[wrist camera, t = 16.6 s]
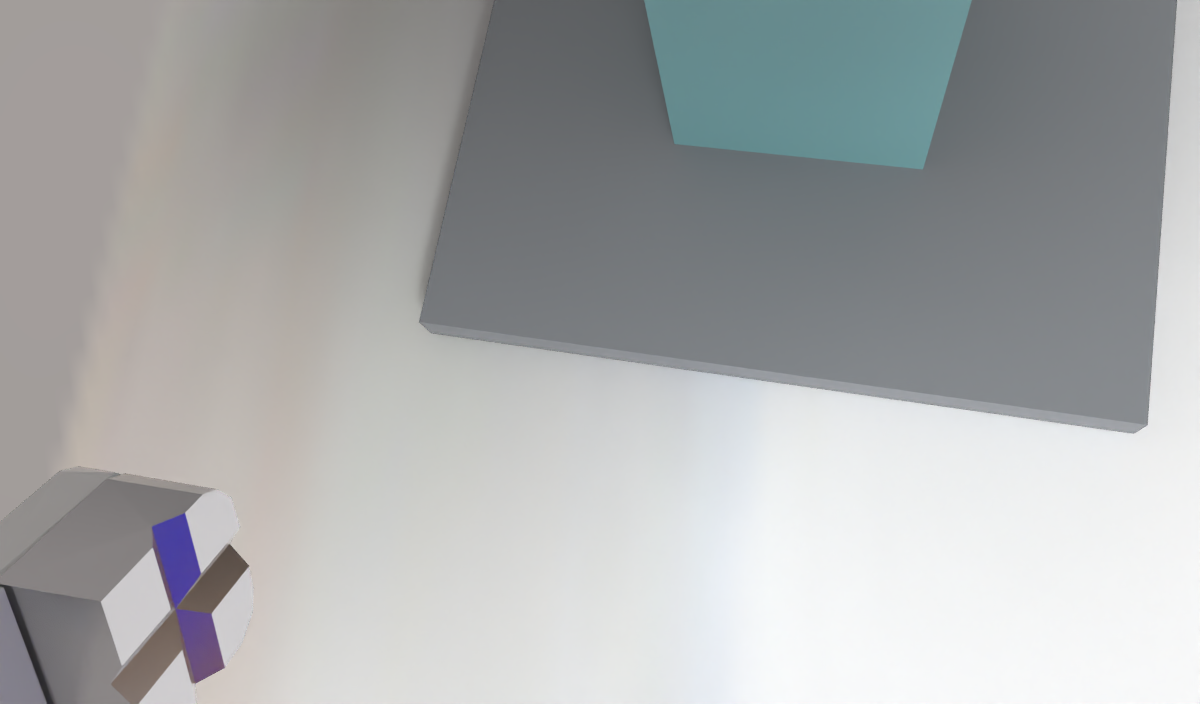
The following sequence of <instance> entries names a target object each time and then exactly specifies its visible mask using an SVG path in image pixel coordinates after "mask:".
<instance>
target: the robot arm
mask: <svg viewBox="0 0 1200 704" xmlns="http://www.w3.org/2000/svg"><path fill="white" fill-rule="evenodd" d="M239 528H240V525H239V521H238V517H237V514H236V510H235V507H234V503H233V500H232V497H230V496H228V495H227V494H225V493H223V492H221V491H220V490H218V489H213V488H207V487H201V486H195V485H189V484H184V483H178V482H172V481H166V480H160V479H155V478H149V477H143V476H137V475H131V474H126V473H125V474H119V473H114V472H108V471H102V470H97V469H91V468H85V467H79V466H78V467H74V468H70V469H66V470H61V471H59V472H58V473H56V474H55V475H54V476H53V477H52V478H51V479H49V480H48V481H47V482H46V483H45V484H44V485H42V486H41V487H40V488H39V489H38V490H37V491H35V492H34V493H33V494H32V495H31V496H29V497H28V498H27V499H26V500H25V501H24V502H23V503H22V504H20V505H19V506H18V507H16V508H15V509H14V510H13V511H12V512H11V513H9V514H8V515H7V516H6V517H5V518H4V519H2V520H1V521H0V704H197V697H196V683H197V682H199V681H201V680H203V679H205V678H207V677H208V676H210V675H212V674H214V673H216V672H218V671H220V670H222V669H223V668H225V667H226V665H227V664H228V663H229V661H230V660H231V658H232V657H233V656H234V654H235V653H236V651H237V650H238V648H239V647H240V646H241V644H242V642H243V639H244V636H245V633H246V630H247V628H248V625H249V622H250V619H251V616H252V613H253V592H254V587H253V582H252V577H251V573H250V568H249V565H248V564H247V563H246V562H245V561H244V560H243V559H242V558H241V556H240V555H239V554H238V553H237V552H236V551H235V550H234V549H233V547H232V546H231V545H230V543H231V541H232V539H233V538H234V536H235V535H236V533H237V532H238V530H239Z"/></svg>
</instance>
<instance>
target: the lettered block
mask: <svg viewBox="0 0 1200 704" xmlns="http://www.w3.org/2000/svg"><path fill="white" fill-rule="evenodd" d="M971 1H972V0H644V2H645V7H646V11H647V16H648V21H649V26H650V30H651V35H652V40H653V45H654V49H655V54H656V59H657V64H658V68H659V73H660V78H661V83H662V87H663V92H664V97H665V102H666V106H667V111H668V116H669V121H670V125H671V130H672V135H673V140H674V144H679V145H689V146H699V147H709V148H718V149H728V150H738V151H748V152H757V153H767V154H777V155H787V156H796V157H806V158H816V159H826V160H835V161H845V162H855V163H865V164H875V165H884V166H894V167H904V168H914V169H923V168H924V164H925V161H926V157H927V154H928V150H929V147H930V143H931V140H932V136H933V133H934V129H935V126H936V122H937V119H938V116H939V112H940V109H941V105H942V102H943V98H944V95H945V91H946V88H947V84H948V81H949V77H950V74H951V71H952V67H953V64H954V60H955V57H956V53H957V50H958V46H959V43H960V39H961V36H962V32H963V29H964V26H965V22H966V19H967V15H968V12H969V8H970V5H971Z"/></svg>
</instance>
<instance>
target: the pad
mask: <svg viewBox="0 0 1200 704" xmlns="http://www.w3.org/2000/svg"><path fill="white" fill-rule="evenodd" d="M1176 6H1177V0H972V1H971V5H970V8H969V12H968V15H967V19H966V22H965V26H964V29H963V32H962V36H961V39H960V43H959V46H958V50H957V53H956V57H955V60H954V64H953V67H952V71H951V74H950V77H949V81H948V84H947V88H946V91H945V95H944V98H943V102H942V105H941V109H940V112H939V116H938V119H937V122H936V126H935V129H934V133H933V136H932V140H931V143H930V147H929V150H928V154H927V157H926V161H925V164H924V168H923V169H914V168H904V167H894V166H884V165H875V164H865V163H855V162H845V161H835V160H826V159H816V158H806V157H796V156H787V155H777V154H767V153H757V152H748V151H738V150H728V149H718V148H709V147H699V146H689V145H679V144H674V140H673V135H672V130H671V125H670V121H669V116H668V111H667V106H666V102H665V97H664V92H663V87H662V83H661V78H660V73H659V68H658V64H657V59H656V54H655V49H654V45H653V40H652V35H651V30H650V26H649V21H648V16H647V11H646V7H645V2H644V0H495V1H494V5H493V9H492V14H491V18H490V22H489V26H488V31H487V35H486V39H485V43H484V48H483V52H482V56H481V61H480V65H479V69H478V73H477V78H476V82H475V86H474V90H473V95H472V99H471V103H470V107H469V112H468V116H467V120H466V124H465V129H464V133H463V137H462V142H461V146H460V150H459V154H458V159H457V163H456V167H455V171H454V176H453V180H452V184H451V188H450V193H449V197H448V201H447V206H446V210H445V214H444V218H443V223H442V227H441V231H440V235H439V240H438V244H437V248H436V252H435V257H434V261H433V265H432V270H431V274H430V278H429V282H428V287H427V291H426V295H425V299H424V304H423V308H422V312H421V316H420V321H419V322H420V323H421V324H422V325H423V326H424V327H425V328H426V329H427V330H428V331H429V332H431V333H435V334H442V335H449V336H456V337H463V338H470V339H477V340H484V341H491V342H498V343H505V344H512V345H519V346H526V347H533V348H540V349H547V350H554V351H561V352H568V353H575V354H582V355H589V356H596V357H603V358H610V359H617V360H624V361H631V362H638V363H645V364H652V365H659V366H666V367H673V368H680V369H687V370H693V371H700V372H707V373H714V374H721V375H728V376H735V377H742V378H749V379H756V380H763V381H770V382H777V383H784V384H791V385H798V386H805V387H812V388H819V389H826V390H833V391H840V392H847V393H854V394H861V395H868V396H875V397H882V398H889V399H896V400H903V401H910V402H917V403H924V404H931V405H938V406H945V407H952V408H959V409H966V410H973V411H980V412H987V413H994V414H1001V415H1008V416H1015V417H1022V418H1029V419H1036V420H1043V421H1050V422H1057V423H1064V424H1071V425H1078V426H1085V427H1092V428H1099V429H1106V430H1113V431H1120V432H1127V433H1136V432H1137V431H1139V430H1140V429H1142V428H1144V427H1145V426H1147V425H1148V410H1149V396H1150V382H1151V367H1152V353H1153V338H1154V324H1155V309H1156V295H1157V280H1158V266H1159V252H1160V237H1161V223H1162V208H1163V194H1164V179H1165V165H1166V150H1167V136H1168V122H1169V107H1170V93H1171V78H1172V64H1173V49H1174V35H1175V20H1176Z"/></svg>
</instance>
